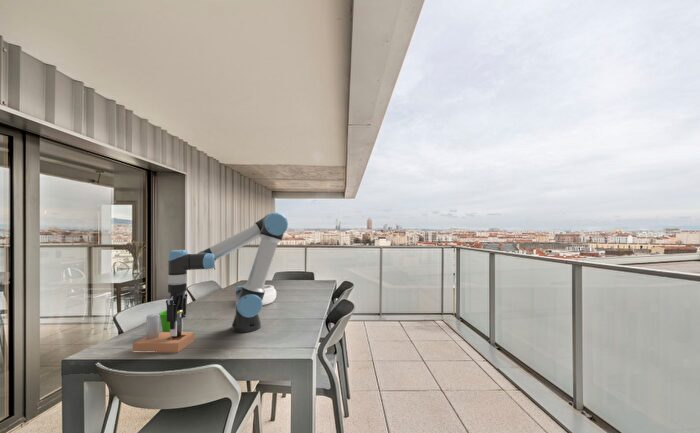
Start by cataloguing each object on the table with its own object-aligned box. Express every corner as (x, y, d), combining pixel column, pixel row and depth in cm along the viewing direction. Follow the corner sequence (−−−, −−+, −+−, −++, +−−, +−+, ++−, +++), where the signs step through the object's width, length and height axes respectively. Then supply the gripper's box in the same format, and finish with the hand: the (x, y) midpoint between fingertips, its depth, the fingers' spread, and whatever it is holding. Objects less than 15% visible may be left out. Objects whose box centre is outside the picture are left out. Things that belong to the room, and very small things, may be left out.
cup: (169, 337, 148) (170, 315, 149) (154, 336, 150) (154, 314, 150) (183, 331, 157) (183, 310, 157) (168, 330, 159) (168, 309, 159)
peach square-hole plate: (194, 340, 144) (195, 311, 145) (178, 352, 130) (178, 320, 131) (153, 340, 144) (154, 311, 145) (132, 352, 130) (133, 320, 131)
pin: (184, 334, 140) (184, 309, 140) (178, 338, 135) (179, 311, 136) (174, 334, 140) (174, 309, 140) (167, 338, 135) (168, 311, 136)
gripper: (179, 280, 147) (179, 327, 146) (157, 287, 130) (156, 341, 129) (195, 280, 147) (194, 327, 146) (174, 287, 130) (173, 341, 129)
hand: (176, 333), depth 138 cm, fingers open, 4 cm apart
